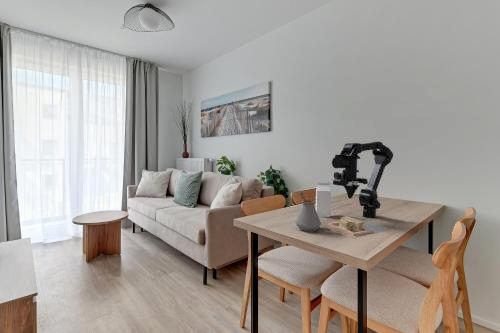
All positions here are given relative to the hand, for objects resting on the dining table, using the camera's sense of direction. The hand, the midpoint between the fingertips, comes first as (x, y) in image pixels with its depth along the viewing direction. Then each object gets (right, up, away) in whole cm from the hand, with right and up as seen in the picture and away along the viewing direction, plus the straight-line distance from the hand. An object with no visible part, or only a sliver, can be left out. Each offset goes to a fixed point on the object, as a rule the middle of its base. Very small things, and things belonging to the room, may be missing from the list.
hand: (350, 198), depth 125 cm
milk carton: (-11, -12, +10) cm, 19 cm away
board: (-2, -13, -12) cm, 18 cm away
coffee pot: (-24, -13, -7) cm, 28 cm away
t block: (-6, -12, -15) cm, 20 cm away
